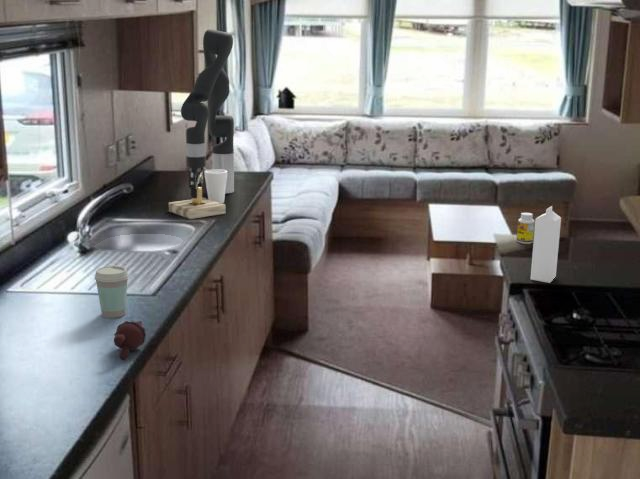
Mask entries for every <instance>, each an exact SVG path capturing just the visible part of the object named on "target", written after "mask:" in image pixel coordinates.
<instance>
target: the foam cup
mask: <svg viewBox="0 0 640 479" xmlns="http://www.w3.org/2000/svg"><path fill="white" fill-rule="evenodd" d="M203 173H204V180H205V186H206V193H207V199H209V200H212V201H216V202H219V203H222V204H225V198H226V196H225V195H226V193H225V189H226V181H227V171H226V170H221V169H213V168H211V169H206V170H203Z"/></svg>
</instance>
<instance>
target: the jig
mask: <svg viewBox="0 0 640 479" xmlns="http://www.w3.org/2000/svg"><path fill="white" fill-rule="evenodd" d="M226 207H227V206H226V204H225V203H219V202H216V201H212V200H209V199H208V198H206V197H202V205H197V206H194V205H192V198H191V199H186V200H177V201H172V202H171V201H170V202H168V212H170V213H173V214H175V215H178V216H179V217H180V216H181V217H184V218H185V219H189V220H195V219H199V218H206V217H210V216H211V217H212V216H219V215H224V214H226V210H227V208H226Z"/></svg>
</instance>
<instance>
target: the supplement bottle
mask: <svg viewBox="0 0 640 479" xmlns="http://www.w3.org/2000/svg"><path fill="white" fill-rule="evenodd" d="M533 215H534V213H531V212H521V213H520V218H519V219H518V220H517V231H516V232H517V233H516V242H518V243H519V244H522V245H523V244H524V245H530V244H533V243H534V231H535V219H533V218H534V216H533Z"/></svg>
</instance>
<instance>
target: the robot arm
mask: <svg viewBox="0 0 640 479" xmlns="http://www.w3.org/2000/svg"><path fill="white" fill-rule="evenodd" d="M233 45H234V37H233V35H232V33H229V32H226V31H223V30H216V29H209V28H208V29H207V30H206V31H204V34H203V38H202V48H203V54H204V56H203V57H204V62H205V68H203V70H202V71H201V72H200V73H199V74H198V76H197V77H196V80H195V83H194V85H193V88H192V90H191V92H190V93H189V95H188V96H187V98H185V100H184V101H183V103H182V106H181V107H180V114H181V115H180V116H181V117H182V119H183V120H184V121H189V122H190V121H191V122H195V126H191V127H188V128H187V129H186V132H185V136H186V138H185V140H186V142H185V143H186V145H185V157H186V158H185V160H186V161H185V163H186V164H185V165H186V168H189V169H191V171H190V172H188V188H189V189H190V198H191V199H192V198H197V186H200V187H202V188H203V183H204V180H205V174H204V168H206V167H207V155H206V154H207V152H206V151H207V150H206V145H205V144H206V143H205V142H206V138H205V136H206V135H205V133H206V128H207V127H208V128H207V129H208V132H209V133H208V134H209V135H210V136H211V137H213V138H226V139H225V140H224V141H222V142H220V143H217V144H214V145H213V146H212V149H211V153H212V154H211V155H212V156H211V157H212V169H221V170H226V171H227V181H226V189H225V194H232V193H234V192H235V166H234V164H235V156H234V155H235V154H234V153H235V152H234V132H235V121H234V117H233V116H232V115H217V114H218V112H219V109H220V108H221V107H222V106H223V104H224V103H225V102H226V100H227V99H228V97H229V95H230V79H229V75H228V74H227V72H226V71H225V69H224V66H225V65H226V62H227V60H228V58H229V56H230V54H231V52H232V49H233ZM204 102H207V104H206V103H204ZM207 124H208V126H207Z"/></svg>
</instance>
